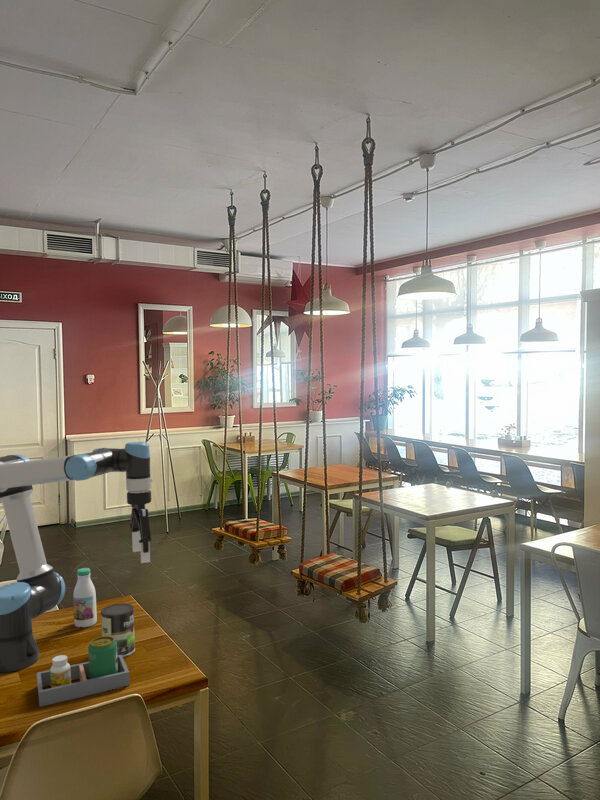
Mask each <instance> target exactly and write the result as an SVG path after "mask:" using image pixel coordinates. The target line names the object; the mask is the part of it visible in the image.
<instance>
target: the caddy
mask: <svg viewBox="0 0 600 800" xmlns="http://www.w3.org/2000/svg"><path fill="white" fill-rule="evenodd" d="M117 662H118V671H119V672H118V673H115V674H111V675H107V676H102V677H98V678H93V679H89V661H85V662H81V663H75V664H72V665H70V670H71V681H74V680H78V679H79V681H76V682H71V684H67V685H62V686H58V687H54V688H51V687H50V688H46V689H43V687H47V686H51V676H50V669H48V670H43V671H38V672H36V683H37V684H36V685H37V686H36V687H37V695H38V703H39V704H38V705H39V707H40V708H41V707H44V706H49V705H53V704H58V703H62V702H65V701H70V700H74V699H75V700H76V699H79V698H83V697H88V696H91V695H95V694H100V693H104V692H108V690H109V691H113V690H117V689H120V688H119V687H121V688H124V686H126V687H128V685H131V684H130V671H129V670H130V669H128V666H127V664H126V661H125V660H124V657H123V656H122V655H117ZM87 677H88V678H87ZM116 688H117V689H116ZM112 689H113V690H112Z"/></svg>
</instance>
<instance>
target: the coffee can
mask: <svg viewBox="0 0 600 800" xmlns="http://www.w3.org/2000/svg"><path fill="white" fill-rule="evenodd" d="M100 616H101V637H102V636H111V637H113V638H114V639H115V641H116V642H117V655H122V656H123V658H125V657H126V658H127V657H128V656H131V655H132V654H133V653H134V652H135V651H136V646H135V645H136V640H135V606H134V605H133V604H130V603H114V604H110V605H107V606H105V607H103V608H102V609H101V610H100Z"/></svg>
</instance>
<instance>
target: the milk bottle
mask: <svg viewBox="0 0 600 800" xmlns="http://www.w3.org/2000/svg"><path fill="white" fill-rule="evenodd" d="M76 577H77V581H76V584H75V586H74V590H73V597H72V599H73V601H72V602H73V620H74V621H73V622H74V626H75V627H76V628H80V627H83V628H89V627H91V626H94V625H96V623H97V620H98V617H97V616H98V615H97V614H98V613H97V596H96V588H95V585H94V583H93V581H92V579H91V569H90V568H89V567H82V568H79V569H77V570H76Z"/></svg>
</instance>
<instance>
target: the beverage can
mask: <svg viewBox="0 0 600 800" xmlns="http://www.w3.org/2000/svg"><path fill="white" fill-rule="evenodd" d="M87 648H88V651H87V653H88V662H89V676H88V680H89V679H93V678H98V677H102V676H107V675H111V674H115V673H119V670H118V662H117V642H116V641H115V639H114V638H113V637H111V636H102V635H101V636H98V637H95V638H93V639H91V640H90V642H89V646H88V647H87Z"/></svg>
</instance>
